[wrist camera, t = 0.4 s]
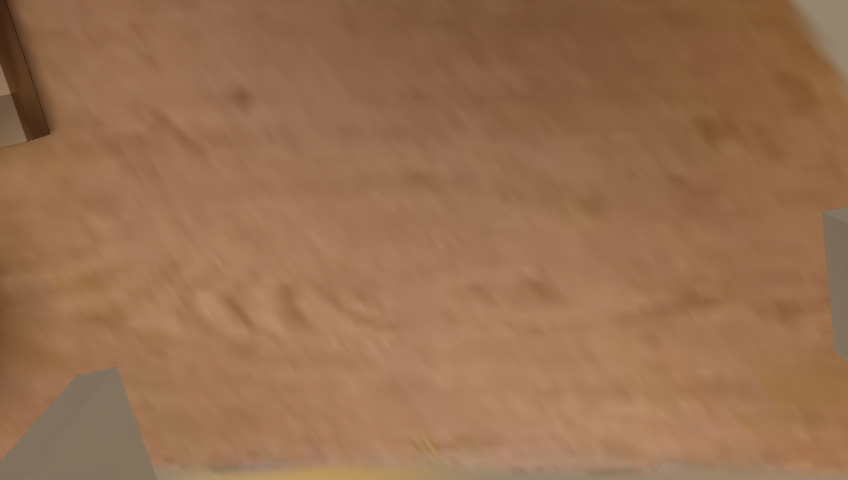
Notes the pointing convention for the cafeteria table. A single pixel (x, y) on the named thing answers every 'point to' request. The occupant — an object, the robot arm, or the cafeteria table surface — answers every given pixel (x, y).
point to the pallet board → (16, 90)
